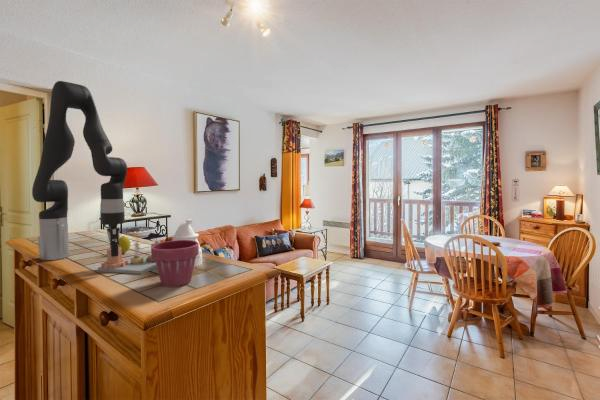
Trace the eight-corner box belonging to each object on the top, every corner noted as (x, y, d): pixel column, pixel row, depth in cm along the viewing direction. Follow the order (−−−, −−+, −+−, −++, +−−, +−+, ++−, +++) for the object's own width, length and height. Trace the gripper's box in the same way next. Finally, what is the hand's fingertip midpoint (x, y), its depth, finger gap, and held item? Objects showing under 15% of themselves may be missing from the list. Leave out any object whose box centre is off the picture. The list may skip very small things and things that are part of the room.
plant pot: (148, 292, 90) (146, 250, 89) (156, 277, 103) (155, 240, 102) (198, 287, 94) (197, 247, 93) (200, 274, 107) (199, 238, 106)
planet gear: (95, 268, 109) (95, 250, 109) (113, 262, 117) (113, 245, 117) (115, 269, 108) (115, 251, 107) (132, 263, 116) (132, 246, 115)
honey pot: (207, 260, 125) (206, 217, 124) (193, 269, 113) (192, 222, 111) (178, 259, 127) (177, 217, 125) (161, 268, 114) (160, 221, 113)
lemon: (126, 254, 133) (125, 237, 133) (113, 254, 133) (113, 237, 133) (133, 251, 139) (132, 234, 138) (121, 251, 139) (120, 234, 138)
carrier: (98, 271, 110) (97, 247, 109) (134, 258, 128) (133, 237, 127) (142, 274, 106) (141, 249, 106) (173, 260, 124) (173, 239, 124)
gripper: (125, 212, 107) (127, 256, 109) (122, 208, 119) (124, 248, 120) (100, 213, 103) (102, 259, 104) (100, 209, 115) (101, 251, 116)
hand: (114, 253), depth 112 cm, fingers open, 8 cm apart
